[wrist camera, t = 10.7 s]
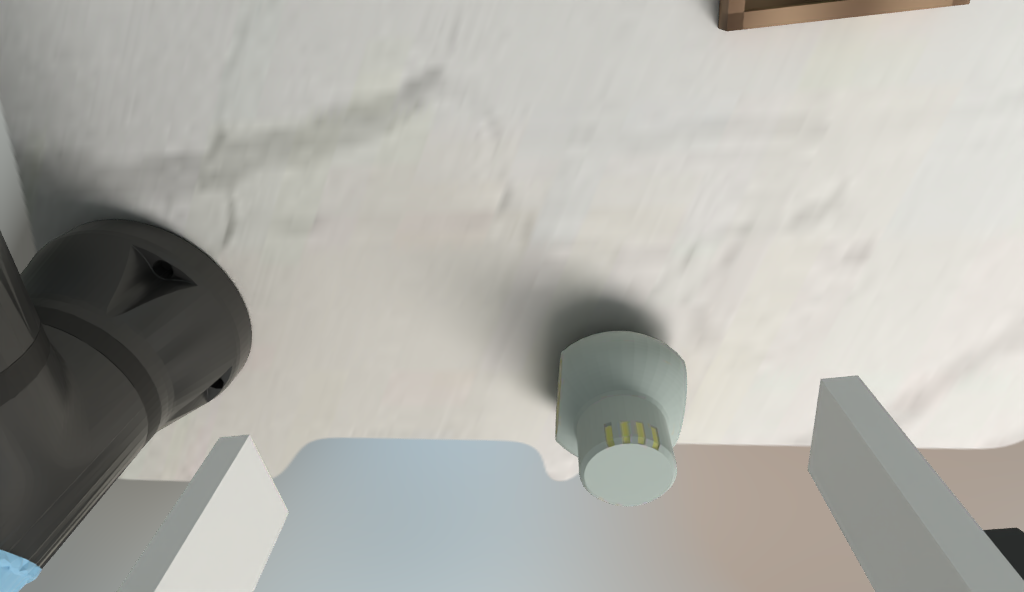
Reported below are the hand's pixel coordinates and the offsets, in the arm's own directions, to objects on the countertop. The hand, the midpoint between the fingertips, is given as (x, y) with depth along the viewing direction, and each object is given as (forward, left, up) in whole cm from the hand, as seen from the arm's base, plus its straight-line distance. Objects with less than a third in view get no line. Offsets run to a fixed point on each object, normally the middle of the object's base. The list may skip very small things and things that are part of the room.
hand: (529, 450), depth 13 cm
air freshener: (+4, -17, -25) cm, 31 cm away
